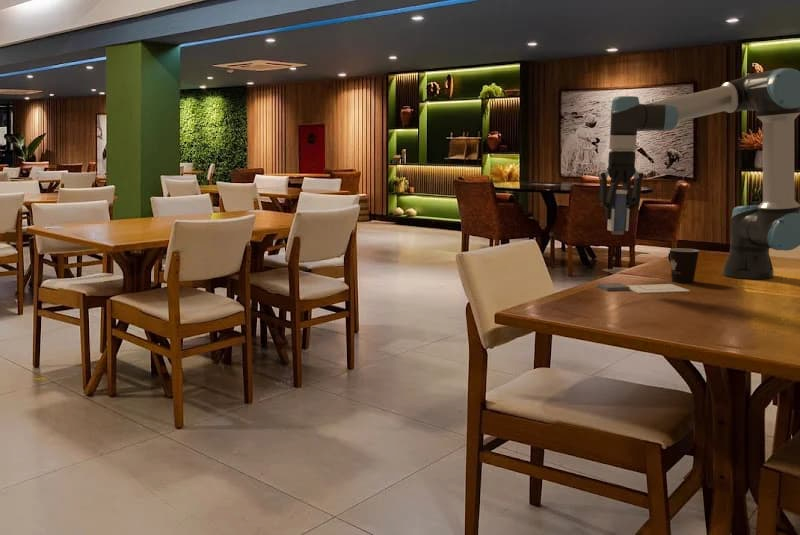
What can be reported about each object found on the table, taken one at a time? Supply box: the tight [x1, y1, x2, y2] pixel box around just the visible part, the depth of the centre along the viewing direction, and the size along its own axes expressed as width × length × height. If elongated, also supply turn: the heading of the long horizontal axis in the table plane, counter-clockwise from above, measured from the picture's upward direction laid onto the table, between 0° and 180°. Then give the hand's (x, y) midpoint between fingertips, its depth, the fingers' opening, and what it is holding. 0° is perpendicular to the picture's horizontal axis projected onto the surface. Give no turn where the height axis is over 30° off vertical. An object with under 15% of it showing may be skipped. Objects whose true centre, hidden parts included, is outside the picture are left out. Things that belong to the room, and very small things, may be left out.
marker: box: [611, 189, 627, 236], centre depth 224 cm, size 4×4×13 cm
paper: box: [627, 283, 691, 294], centre depth 226 cm, size 16×11×1 cm
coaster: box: [597, 282, 631, 292], centre depth 227 cm, size 7×7×1 cm
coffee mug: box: [667, 247, 700, 284], centre depth 240 cm, size 12×9×10 cm
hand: (617, 230), depth 225 cm, fingers closed on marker, 4 cm apart
